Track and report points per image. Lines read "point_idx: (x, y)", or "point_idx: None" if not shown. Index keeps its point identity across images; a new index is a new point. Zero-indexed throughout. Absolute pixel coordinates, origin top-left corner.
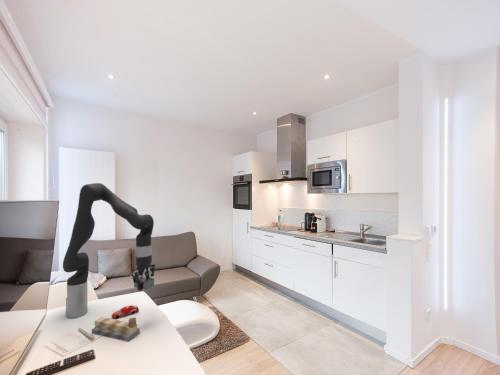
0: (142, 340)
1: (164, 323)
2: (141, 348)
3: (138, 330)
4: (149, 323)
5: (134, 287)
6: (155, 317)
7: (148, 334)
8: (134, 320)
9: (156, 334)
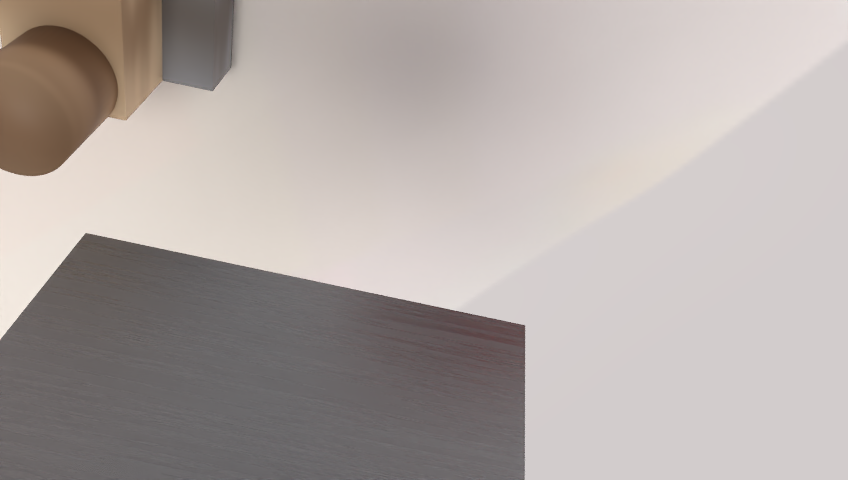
0: (116, 171)
1: (483, 256)
2: (9, 224)
3: (189, 81)
4: (467, 74)
5: (82, 254)
6: (642, 79)
7: (232, 181)
8: (6, 169)
9: (254, 260)
